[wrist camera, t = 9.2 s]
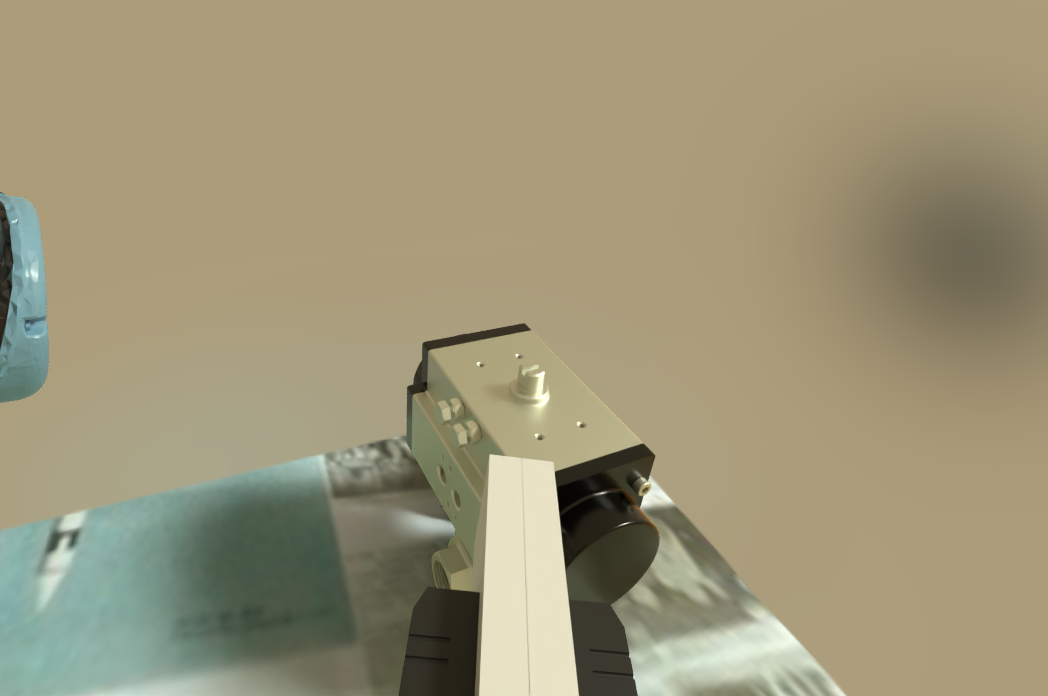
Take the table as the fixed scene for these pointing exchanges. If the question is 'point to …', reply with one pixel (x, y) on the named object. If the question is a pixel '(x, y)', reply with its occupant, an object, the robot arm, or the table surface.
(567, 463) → the ball valve
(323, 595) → the table surface
